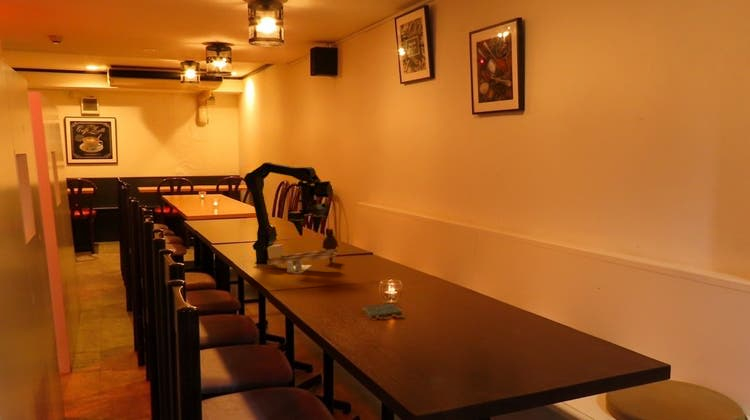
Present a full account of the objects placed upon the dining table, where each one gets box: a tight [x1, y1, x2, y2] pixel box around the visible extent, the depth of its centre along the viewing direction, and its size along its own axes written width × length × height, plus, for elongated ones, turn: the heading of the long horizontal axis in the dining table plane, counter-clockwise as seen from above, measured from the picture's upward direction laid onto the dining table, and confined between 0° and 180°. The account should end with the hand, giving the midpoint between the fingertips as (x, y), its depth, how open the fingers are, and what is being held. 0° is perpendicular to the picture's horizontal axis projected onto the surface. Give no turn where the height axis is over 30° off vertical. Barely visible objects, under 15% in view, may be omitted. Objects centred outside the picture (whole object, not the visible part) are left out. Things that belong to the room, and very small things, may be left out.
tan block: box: [267, 243, 285, 260], centre depth 242 cm, size 5×5×6 cm
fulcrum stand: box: [286, 261, 313, 275], centre depth 241 cm, size 10×16×5 cm, turn 170°
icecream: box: [321, 227, 339, 263], centre depth 256 cm, size 7×7×15 cm
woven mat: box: [361, 302, 405, 321], centre depth 176 cm, size 10×11×2 cm
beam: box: [266, 248, 339, 266], centre depth 240 cm, size 28×8×2 cm, turn 80°
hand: (308, 234), depth 247 cm, fingers open, 9 cm apart
